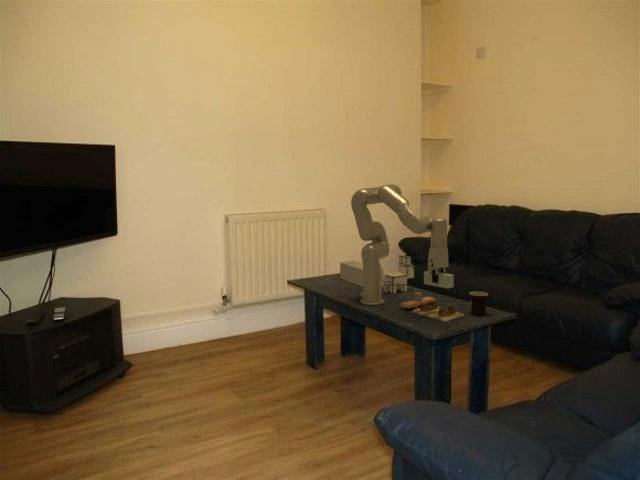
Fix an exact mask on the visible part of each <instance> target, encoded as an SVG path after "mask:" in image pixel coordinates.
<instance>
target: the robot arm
mask: <svg viewBox="0 0 640 480" xmlns="http://www.w3.org/2000/svg"><path fill="white" fill-rule="evenodd" d="M382 203H383V204H384V205H386V206H387V207H388V208H389V209H391V210H392V211H393V212H394V213H395V214H396V215H397V216H398V217H397V218H398V219H399V221H400V223H401V224H402V225H404V226H405V228H407V229H408V230H409V231H410V232H412V233H414V234H417V235H421V234H425V233H426V234H427V233H430V247H429V250H428V255H427V271H430V272H431V274H432V282H433V283H438V275H437V273H438V272H441V273H447V270H448V267H449V266H450V264H449V250H448V220H447V218H445V217H431V216H422V217H418V216H417V215H416V214H414V212H412V211H411V209H410V208H409V206H410V202H409V200H408V199H407V198H406V197H404V196H403V195H402V190H401V188H400V187H399V185H397V184H392V183H391V184H384V185H381V186H377V187H376V186H375V187H366V188H360V189H359V190H356V191H355V192H354V193H353V195H352V197H351V200H350V206H351V210H352V212H353V216H354V219H355V224H356V227H357V231H358V234H359V238H360V239H361V241H363V242H370V241H371V242H370V243H366V244H365V245H363V246H362V248H361V253H360V256H361V261H362V263H363V287H362V288H363V291H361V293H359V296H360V297H361V299H360V303H361V304H362V305H364V306H365V305H366V306H380V305H384V304H385V303H386V301H385V299H384V298H382V287H381V269H382V265H381V262H380V260H384V259H385V258H387V257H388V256H389V255H390V250H391V249H390V243H389V241H388V236H387V232H386V228H385V226H384V225H383V224H382V223H381V222H379V221H376V220H374V221H373V217H372V213H371V211H370V210H369V208H368V207H367V206H368V205H374V204H375V205H376V204H382Z"/></svg>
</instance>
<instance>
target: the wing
mask: <svg viewBox="0 0 640 480" xmlns="http://www.w3.org/2000/svg"><path fill="white" fill-rule="evenodd" d="M423 295H424V294H423V293H422V292H419V291H418V292H414V293H413V300H409V301H405V302H402V303H400V307H403V308H406V309H411V308H412V309H414V310H415V309H419V306H421V303H425V304H430V301H436V298H435V297H431V296H424V297H423Z"/></svg>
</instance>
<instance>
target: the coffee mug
mask: <svg viewBox="0 0 640 480" xmlns="http://www.w3.org/2000/svg"><path fill="white" fill-rule="evenodd" d="M488 297H489V293H487V292H484V291H479V290H477V291H475V290H474V291H470V292H469V301H470V302H469V303H470V313H471V315H473V316H475V317H481V316H486V311H487V305H488Z"/></svg>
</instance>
